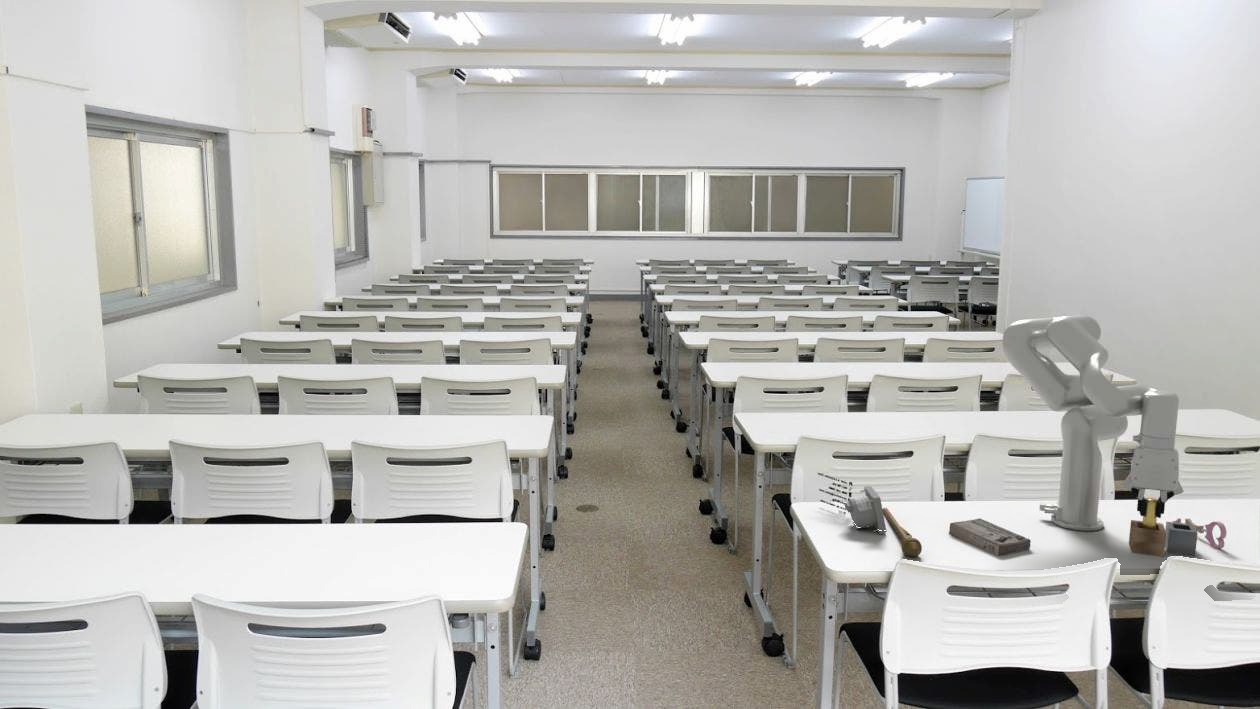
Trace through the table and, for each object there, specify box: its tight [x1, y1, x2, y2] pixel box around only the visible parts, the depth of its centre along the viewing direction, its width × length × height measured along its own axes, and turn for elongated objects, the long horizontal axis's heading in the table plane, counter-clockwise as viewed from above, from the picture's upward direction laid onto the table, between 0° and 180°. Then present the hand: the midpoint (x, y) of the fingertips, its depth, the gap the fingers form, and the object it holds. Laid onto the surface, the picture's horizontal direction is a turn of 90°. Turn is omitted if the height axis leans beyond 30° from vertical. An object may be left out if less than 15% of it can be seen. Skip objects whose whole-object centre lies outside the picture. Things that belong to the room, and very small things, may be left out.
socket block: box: [1165, 521, 1199, 557], centre depth 239 cm, size 6×6×6 cm
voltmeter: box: [818, 472, 888, 535], centre depth 259 cm, size 27×11×10 cm, turn 36°
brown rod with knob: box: [882, 507, 923, 558], centre depth 249 cm, size 5×35×5 cm
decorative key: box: [1171, 517, 1227, 550], centre depth 248 cm, size 7×1×20 cm
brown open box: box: [1128, 519, 1166, 557], centre depth 239 cm, size 7×7×6 cm
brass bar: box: [1141, 497, 1159, 530], centre depth 239 cm, size 3×3×12 cm
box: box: [948, 517, 1032, 557], centre depth 245 cm, size 11×17×3 cm, turn 25°
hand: (1150, 514), depth 238 cm, fingers closed on brass bar, 3 cm apart
